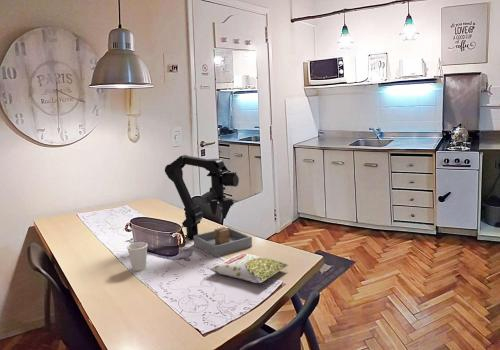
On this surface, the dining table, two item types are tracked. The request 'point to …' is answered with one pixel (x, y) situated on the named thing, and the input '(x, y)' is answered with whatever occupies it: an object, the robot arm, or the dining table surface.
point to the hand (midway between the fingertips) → (219, 216)
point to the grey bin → (209, 245)
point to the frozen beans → (249, 267)
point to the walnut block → (221, 235)
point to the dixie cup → (138, 255)
